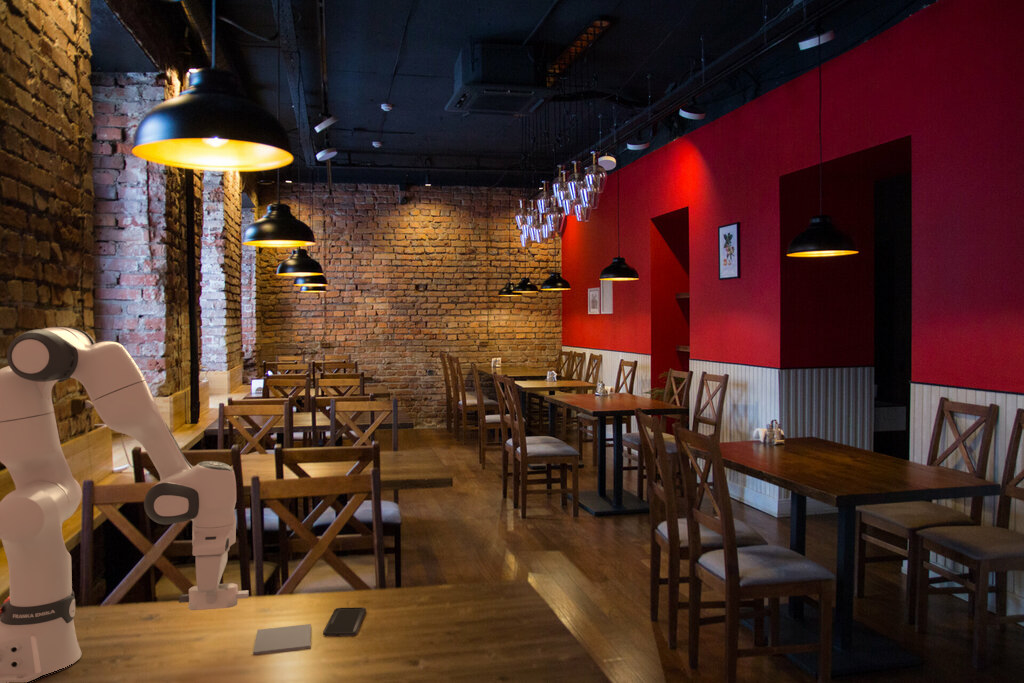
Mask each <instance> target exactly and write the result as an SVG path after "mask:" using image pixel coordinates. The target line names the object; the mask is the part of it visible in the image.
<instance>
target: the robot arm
mask: <svg viewBox="0 0 1024 683" xmlns="http://www.w3.org/2000/svg"><path fill="white" fill-rule="evenodd" d="M6 352H7V353H6V359H7V360H6V361H7V364H8V365H7V366H5V367H2V368H0V463H1V464H3V466H5V468H6V469H7V472H8V473H9V475H10V476H11V479H12V481H13V483H14V487H15V490H12V491H10V492H9V493H8V494H6V495H5V496H4V497H3V498H2V499H1V500H0V540H1V543H2V546H3V549H4V552H5V556H6V559H7V560H6V561H7V565H8V577H9V578H8V579H9V580H8V581H9V582H8V583H9V596H8V597H7V598H6V599H5V600H4V601H3V604H1V605H0V683H6V682H7V683H9V682H28V681H31V680H33V679H36V678H38V677H40V676H42V675H45V674H48V673H51V672H54V671H57V670H59V669H62V668H64V669H66V668H68V667H70V666H72V665H73V664H75V663H76V662H77V661H78V660H80V658H81V657H82V654H83V653H82V650H81V648H80V644H79V642H78V641H79V640H78V638H77V633H76V628H75V622H74V618H75V615H76V614H75V613H76V598H75V592H74V590H73V588H72V587H73V583H72V582H73V581H72V577H73V576H72V570H73V569H72V555H71V554H70V552H69V551H68V550H67V547H66V545H65V544H66V543H65V541H64V536H63V530H62V529H63V524H64V522H65V521H67V520H68V519H69V518H71V517H72V516H73V515H74V514H75V513H76V511H77V510H78V507H79V506H80V504H81V501H82V498H83V490H82V487H81V485H80V483H79V482H78V480H76V479H75V477H74V476H73V474H72V471H71V469H70V468H71V467H70V466H69V464H68V461H67V459H66V457H65V454H64V452H63V448H62V446H61V441H60V435H59V431H58V426H57V420H56V414H55V408H54V404H53V398H52V390H53V387H54V385H55V384H56V383H63V382H65V381H67V380H69V379H75V380H76V381H79V383H80V384H82V386H83V388H84V390H86V393H87V395H88V397H89V400H90V402H91V403H92V405H93V408H94V410H95V411H96V413H97V415H98V417H100V420H102V422H103V423H104V424H105V425H106V427H107V428H108V429H110V430H112V431H113V432H116V433H120V434H124V435H126V436H129V437H131V438H133V439H134V440H136V441H137V442H138V443H140V445H141V446H142V447H143V448H144V450H145V452H146V453H147V456H148V457H149V459H150V461H151V462H152V463H153V466H154V467H155V469H156V471H157V473H158V476H159V479H160V480H159V481H158V482H157V483H155V484H154V485H153V486H152V487H151V488H150V489H149V490H148V491H147V492H146V494H145V497H144V501H143V508H144V512H145V514H146V515H147V517H148V518H150V520H152V521H153V522H154V523H157V524H160V525H172V524H174V525H175V524H179V523H183V522H187V521H191V522H192V534H191V536H192V540H191V543H192V544H191V546H192V552H191V553H192V556H195V575H196V586H197V588H198V591H199V592H200V593H206V596H207V604H214V603H215V602H216V590H217V587H218V585H219V584H221V579H222V576H223V573H224V571H225V568H226V566H227V563H228V552H229V551H230V547H231V546H232V545H234V544H235V543H236V541H237V540H236V537H237V536H236V535H237V534H236V533H237V531H236V528H237V525H236V524H237V517H236V515H235V508H236V503H237V481H236V474H235V470H234V469H233V467H232V466H230V465H229V464H227V463H225V462H221V461H214V460H209V461H208V460H203V461H200V462H198V463H197V464H196V465H195V466H193V465H192V464H191V463H190V462H189V461H188V460H187V458H186V456H185V455H184V453H183V451H182V449H181V448H180V446H179V444H178V443H177V441H176V438H175V436H174V435H173V433H172V431H171V430H170V428H169V427H168V425H167V423H166V421H165V420H164V417H163V414H162V413H161V411H160V409H159V407H158V405H157V403H156V399H155V398H154V395H153V393H152V391H151V388H150V387H149V385H148V383H147V381H146V378H145V376H144V374H143V373H142V370H141V369H140V367H139V366H138V364H137V363H136V361H135V360H134V358H133V357H132V355H131V354H130V352H129V351H128V350H127V348H126V347H125V346H124V345H122V343H120V342H116V341H112V340H111V341H108V340H107V341H106V340H105V341H100V342H96V341H95V339H94V338H93V337H92V336H91V335H90V334H89V333H88V332H86V331H84V330H81V329H79V328H77V327H72V326H71V327H63V326H50V327H45V328H41V329H39V328H36V329H32V330H31V329H30V330H27V331H25V332H23V333H21V334H19V335H18V336H16V337H15V338H14V339H13V340H12V341H11V343H10V344H9V346H8V349H7V351H6ZM71 664H72V665H71ZM69 665H70V666H69ZM67 666H68V667H67ZM65 667H66V668H65ZM62 670H63V669H62ZM59 671H60V670H59ZM57 672H58V671H57ZM54 673H55V672H54ZM51 674H52V673H51ZM48 675H49V674H48ZM45 676H46V675H45Z"/></svg>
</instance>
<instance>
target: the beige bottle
mask: <svg viewBox="0 0 1024 683" xmlns="http://www.w3.org/2000/svg"><path fill="white" fill-rule="evenodd" d="M238 586H239V585H238V584H237V583H232V582H231V583H230V582H229V583H220V584H219V585H218V587H217V590H216V602H215V603H214V604H207V596H206V593H200V592H199V591H198V588H197V585H194V586H192V587H190V588H188V594H180V595H179V597H178V598H179V599H178V603H181V604H183V603H184V604H185V603H188V610H190V611H203V610H204V611H205V610H217V609H230V608H233V607H236V606H238V600H240V599H248V598H249V590H247V589H246V590H239V588H238Z"/></svg>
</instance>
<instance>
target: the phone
mask: <svg viewBox="0 0 1024 683" xmlns="http://www.w3.org/2000/svg"><path fill="white" fill-rule="evenodd" d="M366 613H367V608H366V607H363V606H362V607H337V608H335V609H334V610H333V611H332V614H331V616H330V618H329V619H328V622H327V623H326V625H325V627H324V629H323V631H322V635H325V636H324V637H326V636H332V637H337V636H339V637H354V636H353V635H355V636H357V635H358V632H359V630H360V628H361V624H362V623H361V622H363V620H364V618H365V616H366Z"/></svg>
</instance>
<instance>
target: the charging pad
mask: <svg viewBox="0 0 1024 683" xmlns="http://www.w3.org/2000/svg"><path fill="white" fill-rule="evenodd" d="M311 627H312V626H311V623H309V624H308V623H307V624H306V623H305V624H298V625H288V626H280V627H279V626H278V627H272V628H271V627H270V628H269V627H268V628H261V629H257V630H256V637H255V640H254V645H253V646H254V647H253V652H252V653H253V654H252V655H253V656H254V655H255V656H256V655H263V654H272V653H281V652H291V651H298V650H308V649H311V637H312V636H311V634H312V632H311V630H312V629H311Z"/></svg>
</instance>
